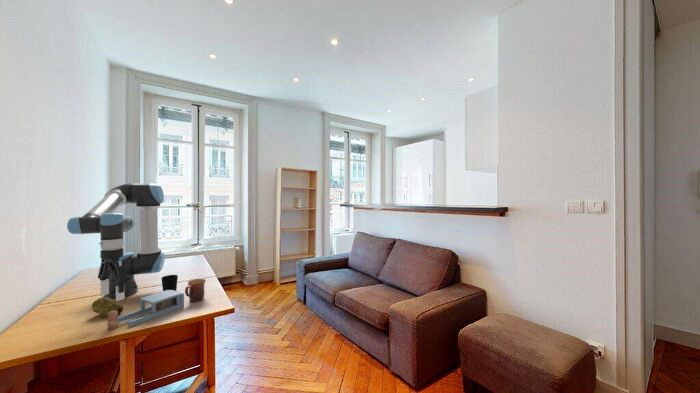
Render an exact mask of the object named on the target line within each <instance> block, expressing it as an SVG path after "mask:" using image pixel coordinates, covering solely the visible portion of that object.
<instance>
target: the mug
mask: <svg viewBox="0 0 700 393" xmlns="http://www.w3.org/2000/svg"><path fill="white" fill-rule="evenodd" d="M205 284H206V279H205V278H195V279H191V280H188V282H187V286H185V288H184V295H185V296H186V297H188V300H189V301H190V302H200V301H201V300H203V299H205V298H204V297H205Z"/></svg>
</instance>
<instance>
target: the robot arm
mask: <svg viewBox="0 0 700 393" xmlns="http://www.w3.org/2000/svg"><path fill="white" fill-rule="evenodd" d="M164 195H165V194H164V190H163V188H162V186H161V185H160V184H159V183H158V184H157V183H152V182H151V183H124V184H120V185H118V186H115V187H113V188H110V189H109V190H108V191H107V192H106V193H105V194H104V196H103V198H102V199H100V200H99V202H98V203H96V204H95V205H94V206H93V207H91V209H89V210H88V211H87V212H86V213H85V214H83V215H82V216H76V217H71V218H69V220H68V222H67V227H66V228H67V231H68V233H70V234H72V235H88V234H89V235H90V234H100V242H99V243H98V244H99V245H100V249H101V250H100V252H99V253H100V256H99V257H100V260H101V261H100V266H99V269H98V270H99V271H98V273H97V278H98V279H99V281H100V296H101V297H104V298H105V297H107V298H110V299H115V301H116V302H118V301H121V300H125V297H128V296H131V295H133V294H136V293H137V292H138V291H139V286H138V284H137V282H136V280H135V275H144V274H145V275H148V274H156V273H160V272H161V271H162V269H164V268H163V267H164V264H165V259H166V257H165V256H166V255H165V254H166V253H164V252H162V249H161V248H160V247H159V227H158V223H159V221H158V216H159V215H158V209H159V208H160V207H161V204H163V203H164V201H165V199H164V198H165V196H164ZM124 204H135V206H136V208H137V209H139V239H140V240H139V243H140V247H139V248H140V249H139V250H138V251H137V252H136V254H135V252H133V251H131V252H130V251H129V252H124V246H125V245H124V244H125V243H124V242H125V241H124V238H125V237H124V233H126V232H128V231H130V230H132V229H133V228H134V226H135V224H136V222H135V219H134V218H133V217H132V216H129V215H124V214H123V213H121V212H115V211H116V210H117V209H118V208H119V207H122V206H123V205H124Z"/></svg>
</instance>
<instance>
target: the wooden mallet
mask: <svg viewBox="0 0 700 393" xmlns="http://www.w3.org/2000/svg"><path fill="white" fill-rule="evenodd" d="M170 306H173V305H172V299H168V300H165V301H162V302H159V303H156V311H159V310H162V309H165V308H167V307H170ZM151 313H152V311H149V312H147V313H144V314H141V315H138V316H135V317H132V318H130V319H127V320H124V321H121V322H118V317H119V316H118V315H119V314H118V311H111V312H108V317H107V330H108V331H112V330H115V329H117V328H118V326H120V325H123V324H125V323H128V322H129V321H131V320H134V319H137V318H140V317H142V316H145V315H148V314H151Z"/></svg>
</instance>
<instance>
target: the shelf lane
mask: <svg viewBox="0 0 700 393" xmlns="http://www.w3.org/2000/svg"><path fill="white" fill-rule="evenodd" d="M168 299H172V306H170V307H167V308H165V309H162V310H159V311H156V303H159V302H162V301H165V300H168ZM139 300H140V308H139V309H137V310H134V311H131V312H128V313H126V314H122V315H119V316H118V322H121V321H124V320H127V319H129V318H133V317H136V316H138V315H141V314H144V313H147V312H150V311H152V313H151V314H148V315H145V316H142V317H139V318H137V319H134V320H131V321H128V322H127V323H128V327H130V328H131V327H133V326H137V325H139V324H141V323H145V322H148V321H149V320H152V319H155V318H158V317H160V316H162V315H165V314H168V313H171V312H173V311H174V312H175V311H176V310H179V309H181V308H184V307H185V292H181V291H178V290H176V291H174V290H166V291H163V290H162V291H160V292H157V293H153V294H150V295H147V296H142V297H140V298H139ZM146 303H147V304H150V305H149V306H146Z"/></svg>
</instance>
